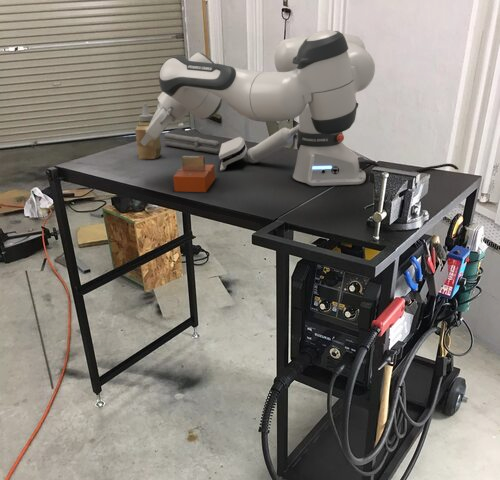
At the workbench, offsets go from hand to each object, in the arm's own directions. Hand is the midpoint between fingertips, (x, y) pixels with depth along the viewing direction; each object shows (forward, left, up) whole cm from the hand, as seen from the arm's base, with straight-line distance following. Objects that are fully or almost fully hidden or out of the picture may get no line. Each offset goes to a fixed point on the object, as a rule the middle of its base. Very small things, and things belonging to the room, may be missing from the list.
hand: (143, 141), depth 159 cm
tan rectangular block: (-15, -1, -8) cm, 17 cm away
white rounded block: (-18, -23, -9) cm, 31 cm away
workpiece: (-1, 0, -5) cm, 5 cm away
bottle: (-28, -26, -11) cm, 40 cm away
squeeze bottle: (+9, -31, -13) cm, 35 cm away
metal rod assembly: (-3, -42, -13) cm, 44 cm away
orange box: (-15, -1, -13) cm, 19 cm away
